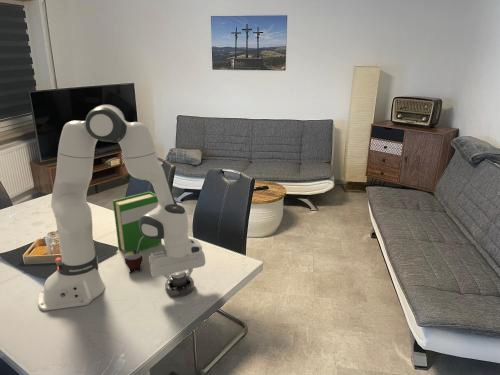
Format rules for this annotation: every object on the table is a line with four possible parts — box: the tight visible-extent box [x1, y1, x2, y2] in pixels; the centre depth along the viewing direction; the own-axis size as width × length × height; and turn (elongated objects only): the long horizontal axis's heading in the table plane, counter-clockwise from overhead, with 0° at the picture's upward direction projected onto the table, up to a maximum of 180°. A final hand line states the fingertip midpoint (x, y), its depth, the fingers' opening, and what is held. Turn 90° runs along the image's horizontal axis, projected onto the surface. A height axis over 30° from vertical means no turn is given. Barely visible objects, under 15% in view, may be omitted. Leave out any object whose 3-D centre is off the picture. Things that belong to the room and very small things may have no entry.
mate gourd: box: [124, 236, 144, 274], centre depth 154 cm, size 8×8×15 cm
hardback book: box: [112, 190, 163, 255], centre depth 171 cm, size 18×7×24 cm, turn 131°
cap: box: [170, 270, 187, 288], centre depth 143 cm, size 6×6×4 cm
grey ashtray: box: [164, 276, 195, 298], centre depth 144 cm, size 10×10×3 cm
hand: (179, 280), depth 143 cm, fingers closed on cap, 5 cm apart
